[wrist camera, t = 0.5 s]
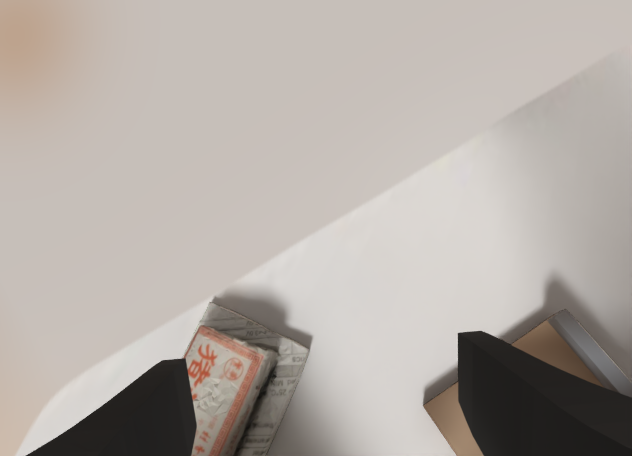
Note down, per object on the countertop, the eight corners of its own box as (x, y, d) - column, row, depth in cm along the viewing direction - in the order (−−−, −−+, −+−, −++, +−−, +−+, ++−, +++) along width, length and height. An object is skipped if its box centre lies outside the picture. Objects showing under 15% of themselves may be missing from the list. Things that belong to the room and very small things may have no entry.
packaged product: (183, 609, 29) (71, 524, 32) (214, 578, 33) (113, 507, 36) (300, 345, 33) (190, 292, 36) (314, 349, 37) (215, 302, 40)
